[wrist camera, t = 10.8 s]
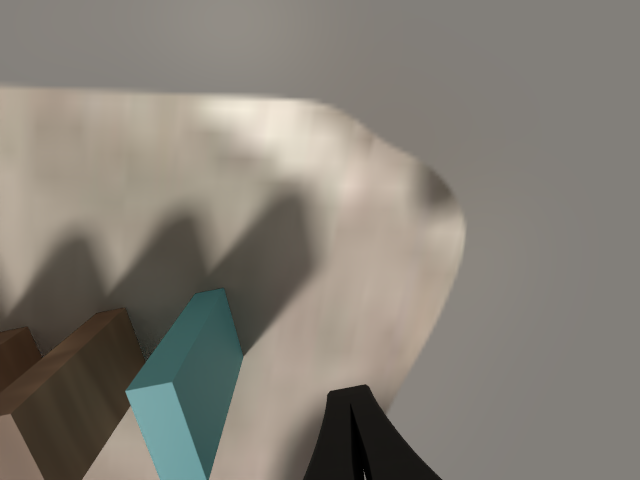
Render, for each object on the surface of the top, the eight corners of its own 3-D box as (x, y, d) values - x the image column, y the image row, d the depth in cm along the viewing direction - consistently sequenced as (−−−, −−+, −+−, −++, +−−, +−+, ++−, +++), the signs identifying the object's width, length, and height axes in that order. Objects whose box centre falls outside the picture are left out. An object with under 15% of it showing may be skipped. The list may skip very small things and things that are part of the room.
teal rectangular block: (216, 362, 21) (164, 491, 13) (195, 293, 20) (124, 390, 12) (243, 357, 21) (207, 483, 13) (223, 287, 20) (172, 381, 12)
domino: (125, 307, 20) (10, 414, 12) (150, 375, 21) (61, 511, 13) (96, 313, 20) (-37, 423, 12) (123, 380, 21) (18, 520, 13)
